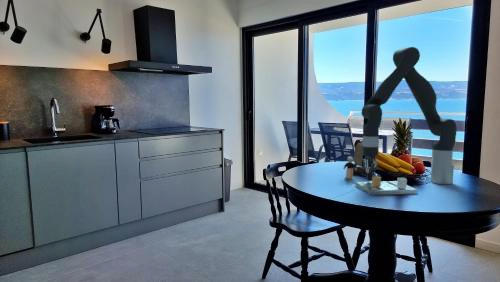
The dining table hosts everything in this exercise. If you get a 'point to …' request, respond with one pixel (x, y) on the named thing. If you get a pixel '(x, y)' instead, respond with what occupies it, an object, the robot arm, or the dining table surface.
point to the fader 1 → (376, 181)
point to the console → (384, 188)
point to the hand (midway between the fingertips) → (369, 180)
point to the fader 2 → (401, 183)
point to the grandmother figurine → (349, 168)
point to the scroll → (359, 158)
